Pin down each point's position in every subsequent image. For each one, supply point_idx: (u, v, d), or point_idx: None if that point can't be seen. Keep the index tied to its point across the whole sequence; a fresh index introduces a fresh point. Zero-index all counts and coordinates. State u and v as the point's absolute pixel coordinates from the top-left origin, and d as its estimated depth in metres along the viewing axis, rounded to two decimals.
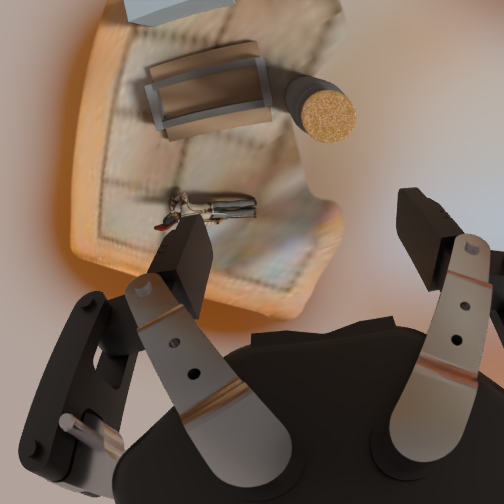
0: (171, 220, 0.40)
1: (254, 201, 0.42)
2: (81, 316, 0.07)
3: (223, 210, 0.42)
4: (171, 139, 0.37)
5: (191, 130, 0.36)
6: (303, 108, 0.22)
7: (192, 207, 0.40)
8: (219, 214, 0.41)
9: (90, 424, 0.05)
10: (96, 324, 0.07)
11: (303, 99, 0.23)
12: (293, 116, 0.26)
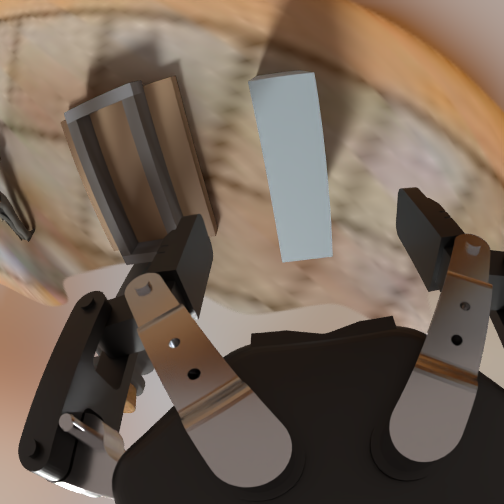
0: None
1: (29, 238, 0.27)
2: (81, 316, 0.07)
3: (3, 213, 0.24)
4: (63, 124, 0.20)
5: None
6: None
7: None
8: None
9: (90, 424, 0.05)
10: (96, 324, 0.07)
11: None
12: None
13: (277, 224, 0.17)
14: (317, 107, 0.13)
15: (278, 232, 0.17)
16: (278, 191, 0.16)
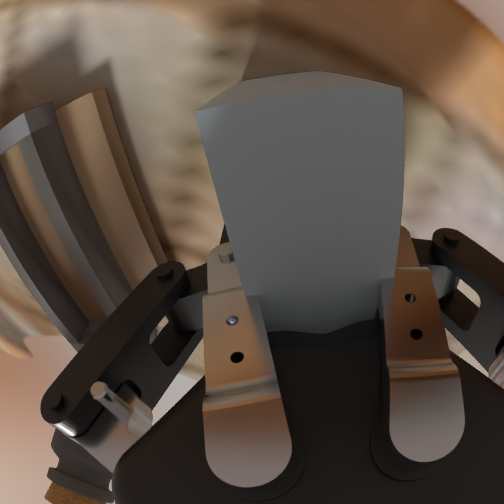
0: None
1: None
2: (153, 285, 0.08)
3: None
4: None
5: None
6: None
7: None
8: None
9: (123, 397, 0.06)
10: (166, 298, 0.08)
11: (78, 492, 0.11)
12: (58, 448, 0.13)
13: None
14: (397, 192, 0.05)
15: None
16: None
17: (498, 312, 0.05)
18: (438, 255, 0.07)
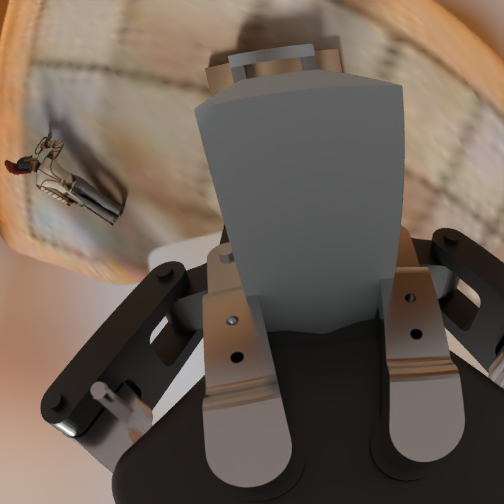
0: (24, 167, 0.22)
1: (120, 211, 0.29)
2: (153, 285, 0.08)
3: (83, 195, 0.27)
4: (209, 71, 0.21)
5: None
6: None
7: (53, 169, 0.24)
8: (75, 197, 0.26)
9: (124, 397, 0.06)
10: (167, 298, 0.08)
11: None
12: None
13: None
14: (397, 190, 0.05)
15: None
16: None
17: (498, 312, 0.05)
18: (438, 255, 0.07)
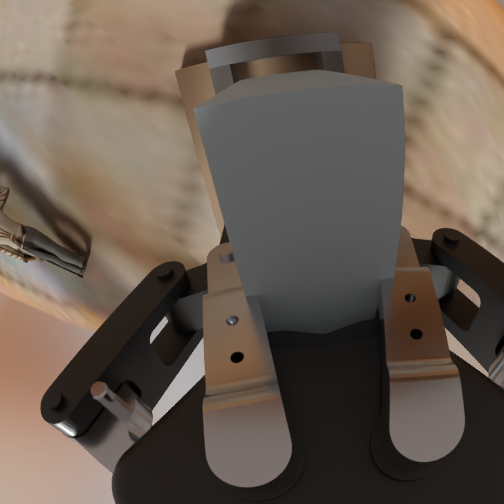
0: None
1: (84, 263, 0.22)
2: (154, 285, 0.08)
3: (38, 249, 0.20)
4: (180, 75, 0.14)
5: None
6: None
7: (0, 223, 0.17)
8: (30, 252, 0.20)
9: (123, 397, 0.06)
10: (167, 298, 0.08)
11: None
12: None
13: None
14: (398, 190, 0.05)
15: None
16: None
17: (498, 312, 0.05)
18: (438, 255, 0.07)
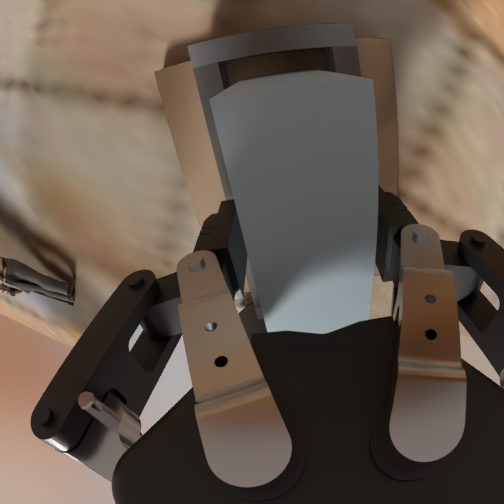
0: None
1: (68, 290, 0.20)
2: (126, 294, 0.08)
3: (22, 281, 0.18)
4: (161, 76, 0.11)
5: (187, 131, 0.13)
6: None
7: None
8: (14, 285, 0.18)
9: (110, 405, 0.06)
10: (140, 305, 0.07)
11: None
12: None
13: None
14: (373, 163, 0.06)
15: None
16: (280, 316, 0.09)
17: None
18: (464, 255, 0.07)
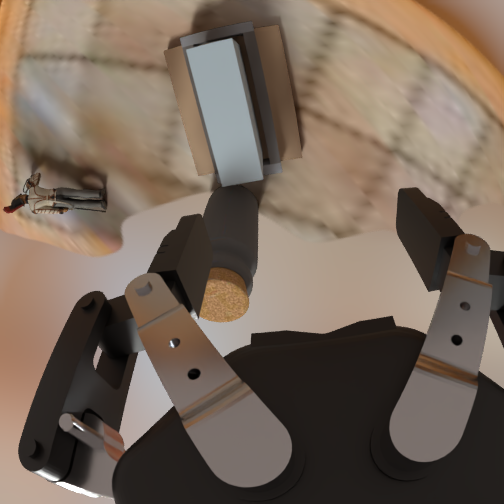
0: (17, 203, 0.28)
1: (100, 193, 0.31)
2: (81, 316, 0.07)
3: (68, 199, 0.30)
4: (167, 53, 0.22)
5: (179, 79, 0.24)
6: (222, 281, 0.21)
7: (37, 192, 0.28)
8: (62, 203, 0.30)
9: (90, 424, 0.05)
10: (96, 323, 0.07)
11: (233, 267, 0.22)
12: None
13: (214, 153, 0.21)
14: (235, 61, 0.17)
15: (216, 160, 0.21)
16: (212, 126, 0.20)
17: None
18: None
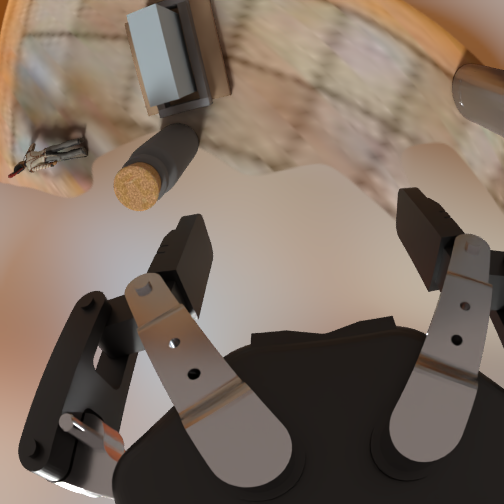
0: (18, 168, 0.34)
1: (78, 139, 0.35)
2: (81, 316, 0.07)
3: (55, 153, 0.35)
4: (127, 25, 0.26)
5: None
6: (136, 167, 0.24)
7: (32, 154, 0.34)
8: (51, 156, 0.35)
9: (90, 424, 0.05)
10: (96, 324, 0.07)
11: (149, 161, 0.25)
12: (139, 149, 0.27)
13: (144, 82, 0.24)
14: (158, 18, 0.20)
15: (145, 87, 0.25)
16: (143, 63, 0.23)
17: None
18: None
